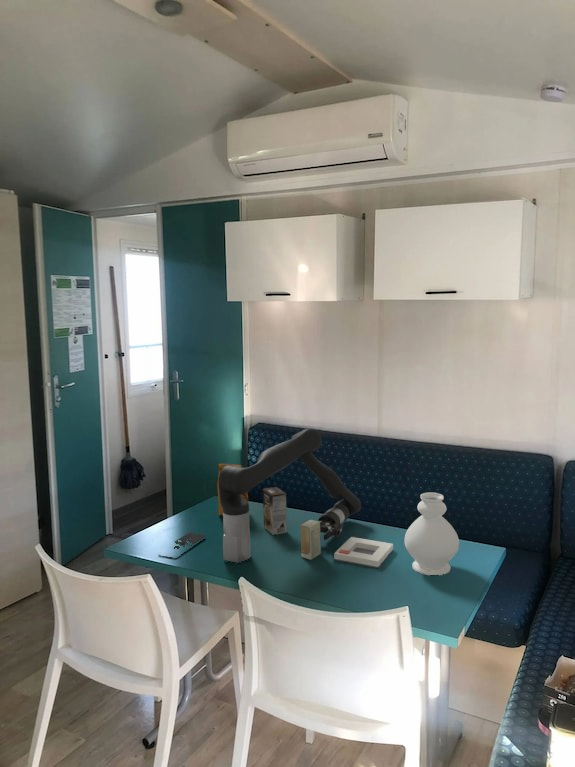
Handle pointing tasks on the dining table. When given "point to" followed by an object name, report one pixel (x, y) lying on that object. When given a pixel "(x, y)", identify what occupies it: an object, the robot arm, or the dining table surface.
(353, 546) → the socket plate
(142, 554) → the dining table surface
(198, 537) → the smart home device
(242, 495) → the coffee package
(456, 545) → the decorative vase
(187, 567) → the dining table surface
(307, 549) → the skincare box
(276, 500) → the coffee box
